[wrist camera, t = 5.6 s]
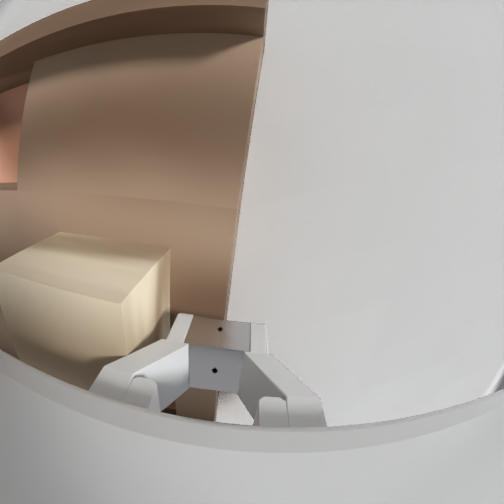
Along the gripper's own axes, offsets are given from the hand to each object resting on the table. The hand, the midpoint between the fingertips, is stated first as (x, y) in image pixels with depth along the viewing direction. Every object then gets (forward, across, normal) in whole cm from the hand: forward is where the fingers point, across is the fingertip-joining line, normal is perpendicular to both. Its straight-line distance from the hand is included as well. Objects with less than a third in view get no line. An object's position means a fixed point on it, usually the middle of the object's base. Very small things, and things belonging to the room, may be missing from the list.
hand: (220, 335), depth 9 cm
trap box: (+4, +12, 0) cm, 13 cm away
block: (+1, +5, 0) cm, 5 cm away
